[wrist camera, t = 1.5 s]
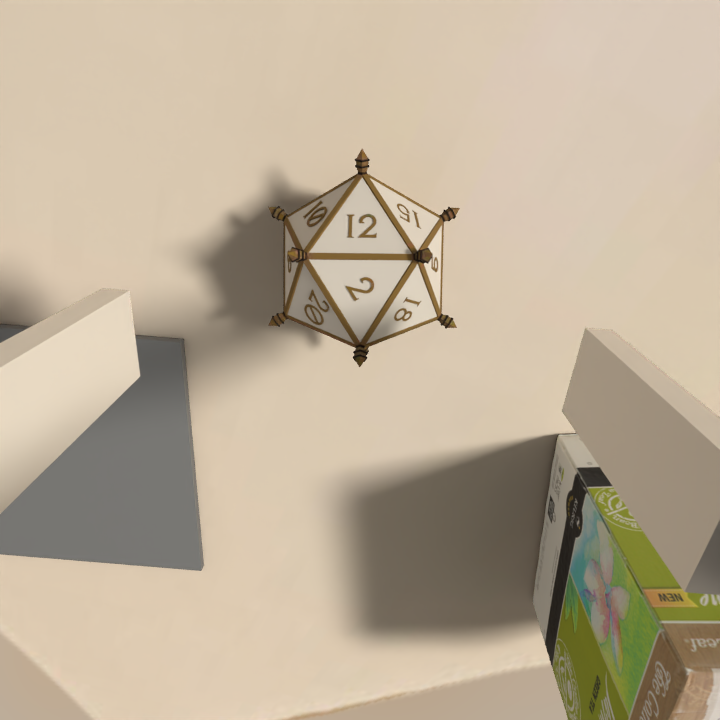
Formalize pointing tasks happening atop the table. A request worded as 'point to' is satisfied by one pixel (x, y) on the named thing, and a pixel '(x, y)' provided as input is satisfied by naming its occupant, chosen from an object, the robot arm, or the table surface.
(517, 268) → the table surface
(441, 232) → the game die
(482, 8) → the table surface
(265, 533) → the table surface
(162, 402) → the mat
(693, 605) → the tea box
